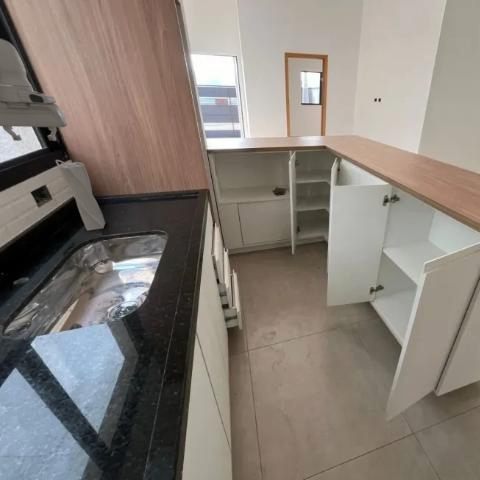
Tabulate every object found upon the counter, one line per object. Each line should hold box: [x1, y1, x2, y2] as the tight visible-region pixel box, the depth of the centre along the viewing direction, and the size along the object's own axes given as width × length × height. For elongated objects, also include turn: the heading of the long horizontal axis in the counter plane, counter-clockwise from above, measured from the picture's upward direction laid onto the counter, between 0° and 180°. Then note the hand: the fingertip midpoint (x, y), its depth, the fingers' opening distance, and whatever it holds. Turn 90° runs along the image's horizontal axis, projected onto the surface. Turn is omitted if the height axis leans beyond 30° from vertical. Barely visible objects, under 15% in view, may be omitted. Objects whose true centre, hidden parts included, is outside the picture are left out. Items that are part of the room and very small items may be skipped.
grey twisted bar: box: [55, 159, 107, 231], centre depth 105 cm, size 8×8×28 cm
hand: (35, 140), depth 93 cm, fingers open, 8 cm apart
